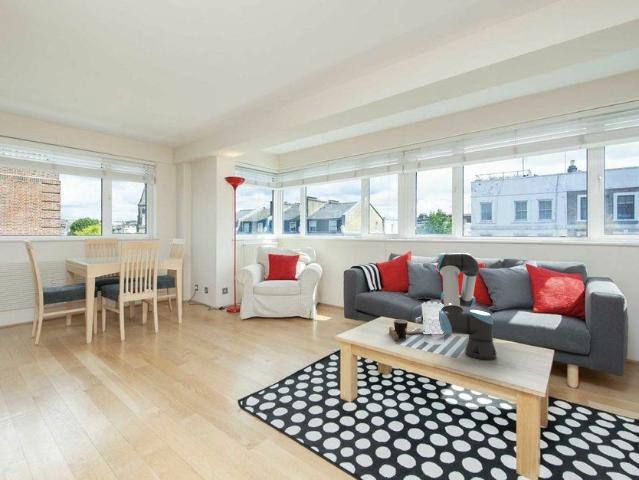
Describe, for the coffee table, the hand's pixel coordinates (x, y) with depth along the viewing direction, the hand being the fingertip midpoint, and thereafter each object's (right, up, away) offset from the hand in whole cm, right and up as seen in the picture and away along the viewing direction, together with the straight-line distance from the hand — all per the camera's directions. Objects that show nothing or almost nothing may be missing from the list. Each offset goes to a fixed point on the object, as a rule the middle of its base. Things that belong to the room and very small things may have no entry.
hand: (425, 322), depth 209 cm
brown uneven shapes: (-9, -8, -4) cm, 13 cm away
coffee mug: (-19, -8, -5) cm, 21 cm away
